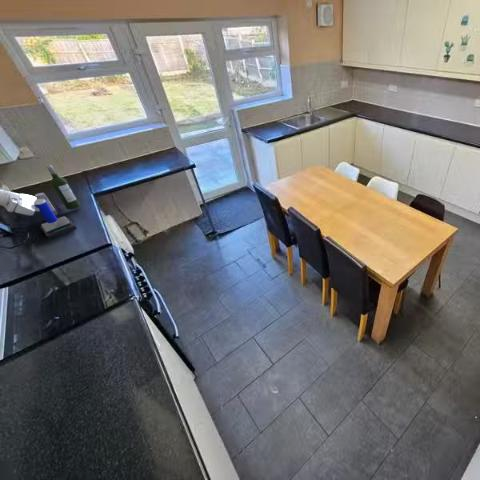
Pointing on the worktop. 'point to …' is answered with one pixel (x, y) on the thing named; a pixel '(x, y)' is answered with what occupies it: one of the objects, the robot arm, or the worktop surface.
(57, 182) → the wine bottle
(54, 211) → the container
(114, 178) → the worktop surface
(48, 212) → the beverage can
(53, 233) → the scale
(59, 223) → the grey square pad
